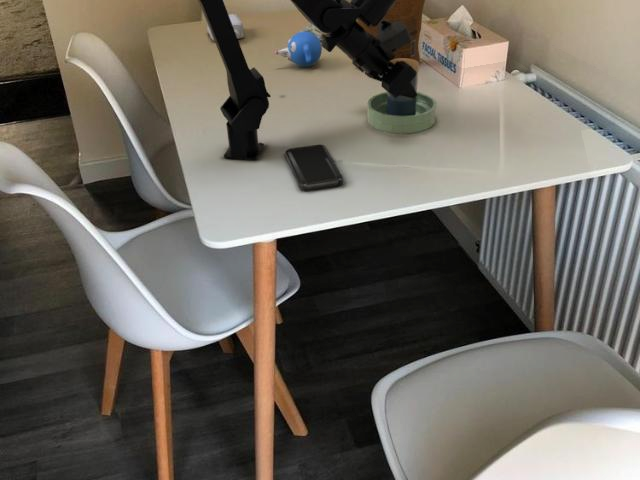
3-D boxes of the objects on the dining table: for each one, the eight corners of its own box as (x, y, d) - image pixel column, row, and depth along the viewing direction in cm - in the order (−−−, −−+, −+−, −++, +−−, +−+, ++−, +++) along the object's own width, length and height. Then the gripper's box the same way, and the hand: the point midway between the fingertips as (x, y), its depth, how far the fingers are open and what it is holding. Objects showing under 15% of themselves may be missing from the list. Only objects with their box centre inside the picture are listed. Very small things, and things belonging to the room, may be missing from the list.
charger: (215, 48, 185) (207, 33, 197) (248, 44, 187) (238, 29, 199) (213, 31, 182) (205, 16, 194) (246, 27, 184) (237, 13, 196)
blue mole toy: (271, 61, 174) (268, 29, 170) (315, 56, 177) (314, 24, 172) (281, 77, 165) (279, 43, 160) (327, 71, 167) (326, 37, 162)
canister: (414, 126, 137) (417, 69, 130) (384, 124, 138) (385, 68, 131) (417, 114, 142) (420, 58, 135) (388, 112, 143) (389, 57, 136)
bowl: (432, 138, 133) (433, 118, 131) (362, 134, 136) (362, 114, 134) (437, 110, 145) (438, 92, 142) (372, 107, 147) (373, 89, 145)
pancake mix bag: (431, 66, 167) (438, -54, 152) (357, 74, 164) (356, -48, 149) (422, 58, 173) (428, -59, 157) (350, 65, 170) (349, -53, 154)
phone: (301, 186, 116) (284, 149, 129) (301, 191, 117) (284, 154, 129) (344, 179, 118) (324, 143, 130) (344, 185, 118) (324, 148, 131)
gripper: (409, 23, 119) (458, 74, 128) (366, -1, 133) (413, 46, 143) (368, 73, 121) (419, 119, 130) (330, 44, 136) (379, 87, 145)
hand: (408, 91), depth 137 cm, fingers closed on canister, 6 cm apart
